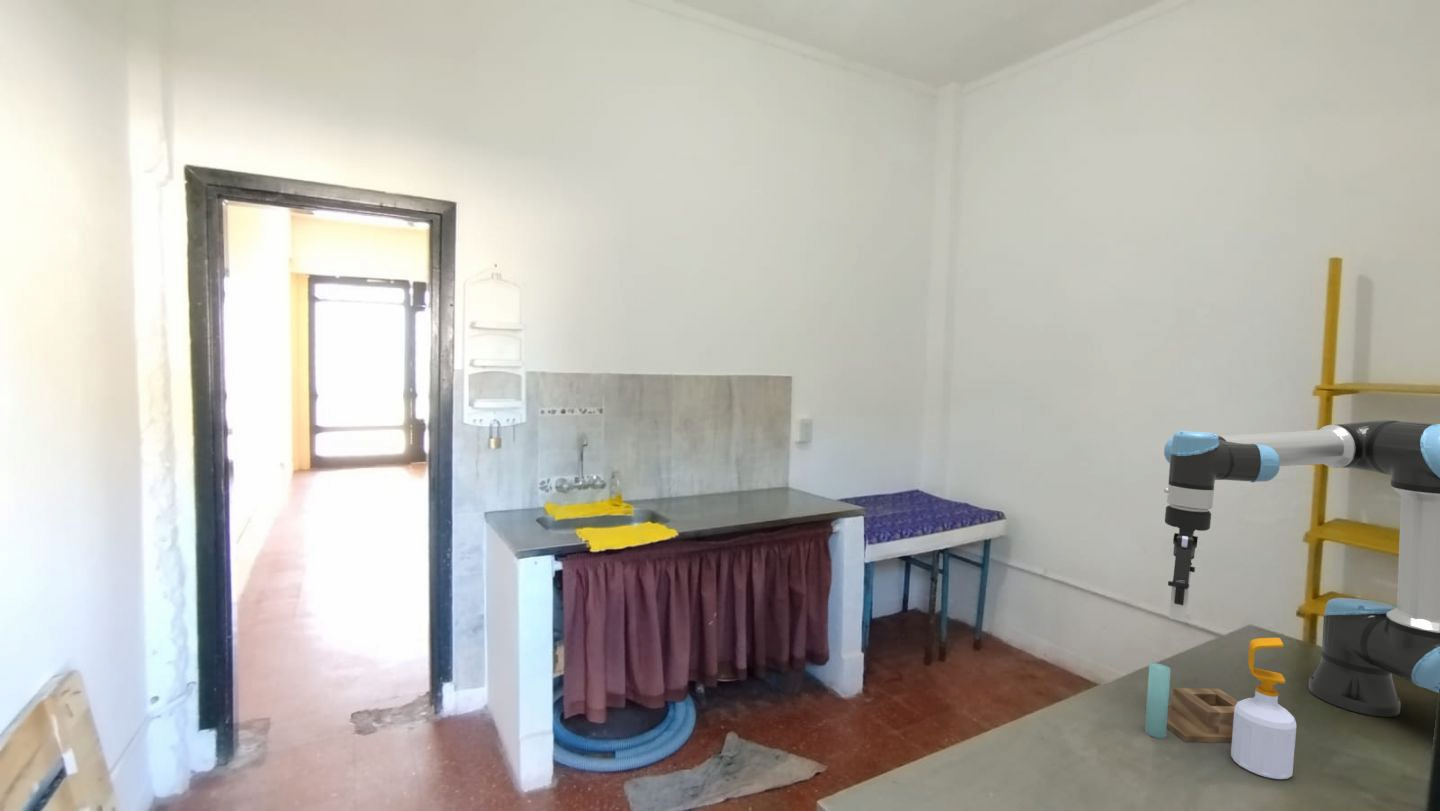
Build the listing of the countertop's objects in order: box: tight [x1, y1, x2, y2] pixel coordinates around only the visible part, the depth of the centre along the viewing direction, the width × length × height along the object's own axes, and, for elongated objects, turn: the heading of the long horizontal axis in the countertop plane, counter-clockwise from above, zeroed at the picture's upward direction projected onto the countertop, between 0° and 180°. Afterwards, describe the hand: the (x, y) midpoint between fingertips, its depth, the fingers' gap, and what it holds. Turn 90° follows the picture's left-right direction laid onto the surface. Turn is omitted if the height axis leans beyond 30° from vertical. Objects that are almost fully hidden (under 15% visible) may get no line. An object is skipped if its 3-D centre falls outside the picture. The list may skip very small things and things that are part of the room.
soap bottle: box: [1230, 637, 1297, 780], centre depth 124 cm, size 9×9×25 cm
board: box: [1145, 687, 1240, 744], centre depth 138 cm, size 20×12×6 cm, turn 91°
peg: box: [1144, 662, 1171, 740], centre depth 135 cm, size 4×4×14 cm
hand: (1178, 610), depth 135 cm, fingers open, 13 cm apart
